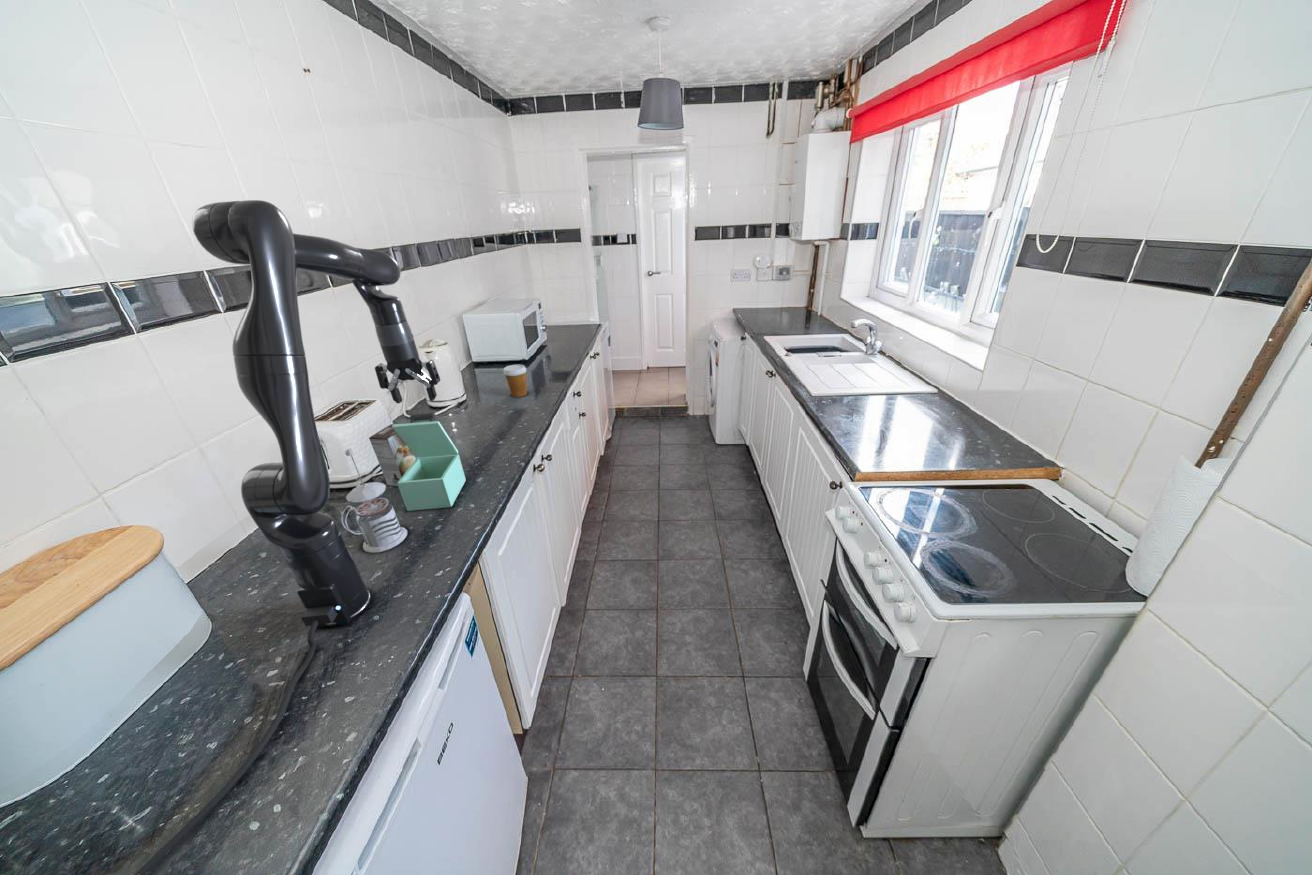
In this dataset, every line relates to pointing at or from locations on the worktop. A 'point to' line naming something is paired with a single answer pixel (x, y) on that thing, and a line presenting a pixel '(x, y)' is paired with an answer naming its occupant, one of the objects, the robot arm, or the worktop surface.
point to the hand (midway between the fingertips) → (416, 401)
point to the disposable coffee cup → (516, 379)
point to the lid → (425, 436)
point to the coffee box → (392, 454)
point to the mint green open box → (432, 482)
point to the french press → (376, 535)
